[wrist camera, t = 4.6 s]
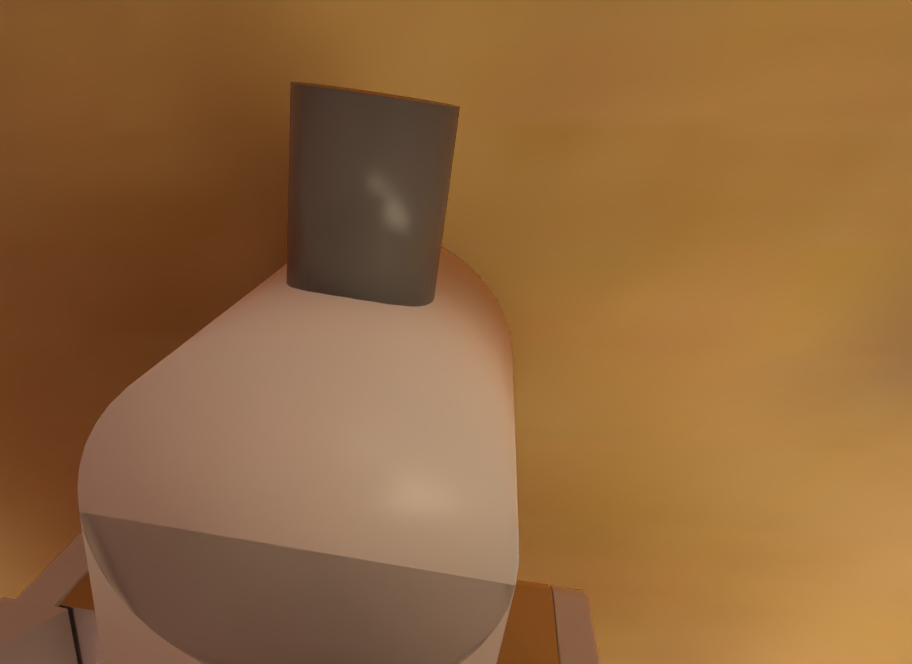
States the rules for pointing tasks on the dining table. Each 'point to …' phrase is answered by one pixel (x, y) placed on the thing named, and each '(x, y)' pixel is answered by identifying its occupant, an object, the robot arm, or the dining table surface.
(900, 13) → the dining table surface
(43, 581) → the robot arm
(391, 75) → the dining table surface
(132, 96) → the dining table surface
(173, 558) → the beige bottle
